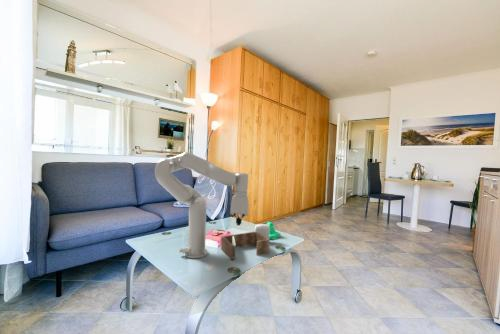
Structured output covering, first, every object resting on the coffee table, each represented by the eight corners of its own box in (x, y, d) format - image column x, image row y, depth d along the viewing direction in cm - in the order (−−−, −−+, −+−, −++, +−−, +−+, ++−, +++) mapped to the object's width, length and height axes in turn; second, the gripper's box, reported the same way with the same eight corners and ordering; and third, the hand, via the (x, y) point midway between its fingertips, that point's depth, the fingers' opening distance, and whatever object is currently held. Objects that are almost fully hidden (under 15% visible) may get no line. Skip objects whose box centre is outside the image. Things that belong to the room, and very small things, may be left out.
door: (237, 259, 119) (238, 245, 118) (233, 259, 118) (234, 245, 118) (235, 248, 133) (235, 236, 133) (231, 248, 133) (232, 236, 132)
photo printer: (268, 241, 148) (269, 223, 148) (269, 243, 144) (270, 225, 144) (253, 241, 147) (254, 223, 147) (254, 243, 143) (255, 225, 142)
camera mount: (268, 240, 150) (268, 225, 149) (261, 237, 156) (262, 222, 156) (281, 237, 157) (281, 223, 156) (274, 234, 163) (274, 220, 163)
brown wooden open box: (231, 260, 118) (232, 246, 117) (221, 249, 132) (221, 236, 131) (268, 253, 129) (269, 239, 129) (255, 243, 143) (255, 231, 143)
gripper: (226, 193, 125) (224, 225, 125) (252, 196, 123) (250, 228, 123) (229, 192, 132) (227, 221, 133) (253, 194, 130) (251, 224, 131)
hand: (238, 224), depth 128 cm, fingers closed
